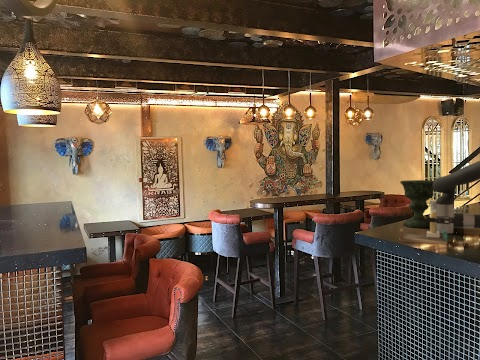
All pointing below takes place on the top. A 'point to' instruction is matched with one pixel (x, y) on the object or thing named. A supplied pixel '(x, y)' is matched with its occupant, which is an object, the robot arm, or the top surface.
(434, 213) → the carriage
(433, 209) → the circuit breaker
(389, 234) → the top surface
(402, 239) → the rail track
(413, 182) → the goblet
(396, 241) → the top surface
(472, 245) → the top surface
